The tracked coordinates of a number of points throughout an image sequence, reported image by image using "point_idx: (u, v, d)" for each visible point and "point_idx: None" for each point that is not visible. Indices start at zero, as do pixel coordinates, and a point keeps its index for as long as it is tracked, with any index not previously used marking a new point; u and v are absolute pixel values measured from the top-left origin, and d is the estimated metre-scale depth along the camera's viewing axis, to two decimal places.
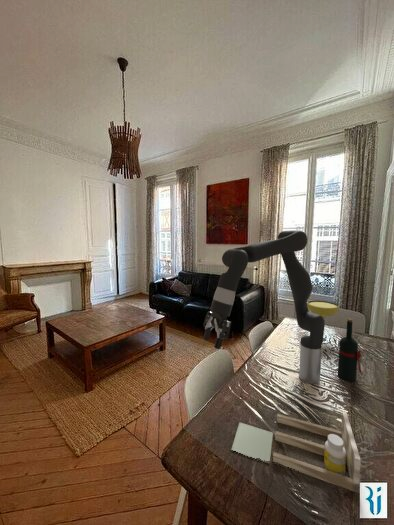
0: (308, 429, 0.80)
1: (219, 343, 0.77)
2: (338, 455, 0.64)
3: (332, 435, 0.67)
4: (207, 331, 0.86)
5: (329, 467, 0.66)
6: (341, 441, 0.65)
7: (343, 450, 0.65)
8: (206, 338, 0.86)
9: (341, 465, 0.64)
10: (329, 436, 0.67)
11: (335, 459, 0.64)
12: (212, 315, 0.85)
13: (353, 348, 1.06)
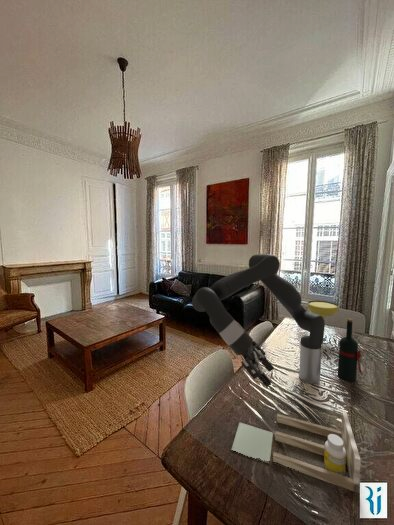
0: (308, 429, 0.80)
1: (263, 381, 0.68)
2: (338, 455, 0.64)
3: (332, 435, 0.67)
4: (263, 363, 0.76)
5: (329, 467, 0.66)
6: (341, 441, 0.65)
7: (343, 450, 0.65)
8: (270, 369, 0.76)
9: (341, 465, 0.64)
10: (329, 436, 0.67)
11: (335, 459, 0.64)
12: None
13: (353, 348, 1.06)
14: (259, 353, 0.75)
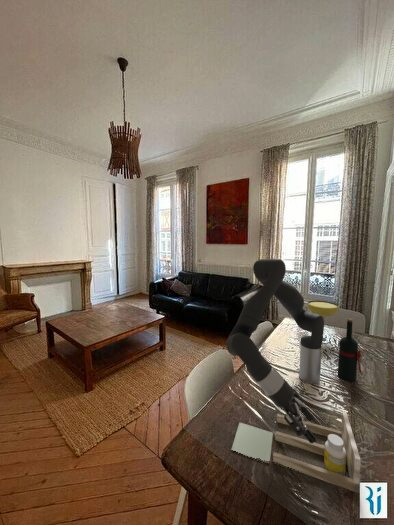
0: None
1: (307, 438, 0.64)
2: (338, 455, 0.64)
3: (332, 435, 0.67)
4: (303, 412, 0.73)
5: (329, 467, 0.66)
6: (341, 441, 0.65)
7: (343, 450, 0.65)
8: (310, 419, 0.72)
9: (341, 465, 0.64)
10: (329, 436, 0.67)
11: (335, 459, 0.64)
12: None
13: (353, 348, 1.06)
14: (299, 403, 0.71)
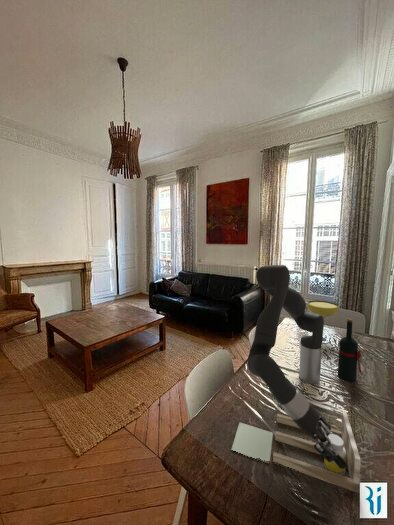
0: None
1: (338, 463, 0.63)
2: None
3: (332, 435, 0.67)
4: None
5: (329, 467, 0.66)
6: (341, 441, 0.65)
7: (343, 450, 0.65)
8: None
9: None
10: (329, 436, 0.67)
11: None
12: None
13: (353, 348, 1.06)
14: (325, 428, 0.68)
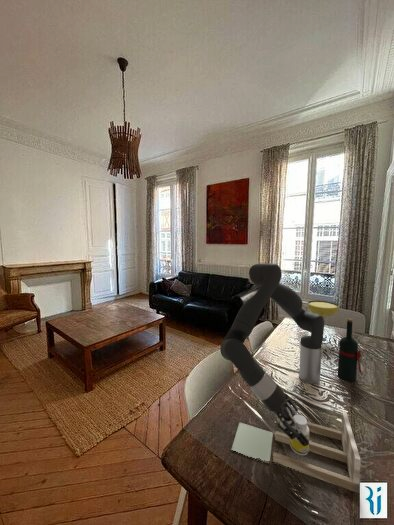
0: None
1: (300, 441, 0.66)
2: None
3: (297, 415, 0.71)
4: None
5: (293, 445, 0.69)
6: (305, 421, 0.69)
7: (307, 429, 0.68)
8: None
9: None
10: (294, 416, 0.71)
11: None
12: None
13: (353, 348, 1.06)
14: (291, 409, 0.72)
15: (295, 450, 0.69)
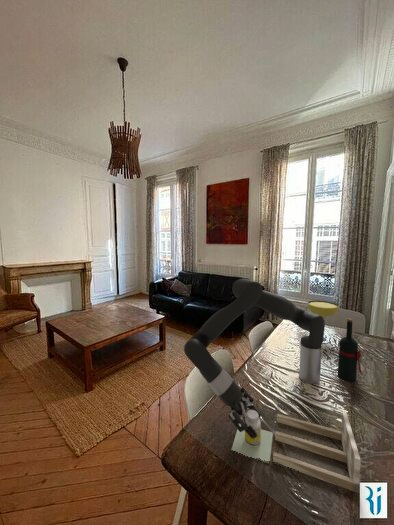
0: (308, 429, 0.80)
1: (249, 433, 0.71)
2: (252, 426, 0.73)
3: (251, 410, 0.77)
4: None
5: (246, 438, 0.75)
6: (257, 415, 0.75)
7: (258, 423, 0.74)
8: None
9: None
10: (248, 411, 0.77)
11: None
12: None
13: (353, 348, 1.06)
14: (246, 402, 0.78)
15: (248, 442, 0.75)
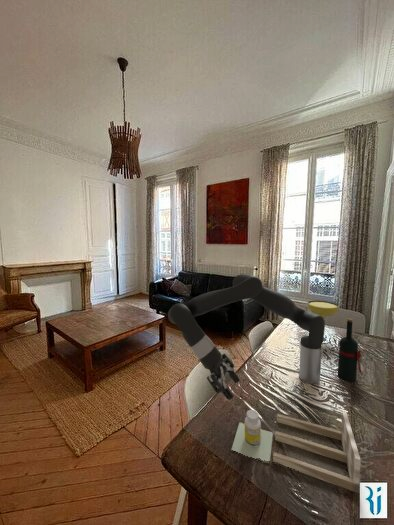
0: (308, 429, 0.80)
1: (225, 395, 0.74)
2: (252, 426, 0.73)
3: (251, 410, 0.77)
4: (230, 375, 0.82)
5: (246, 438, 0.75)
6: (257, 415, 0.75)
7: (258, 423, 0.74)
8: (236, 381, 0.82)
9: (255, 435, 0.74)
10: (248, 411, 0.77)
11: (250, 430, 0.74)
12: None
13: (353, 348, 1.06)
14: (226, 367, 0.80)
15: (248, 442, 0.75)
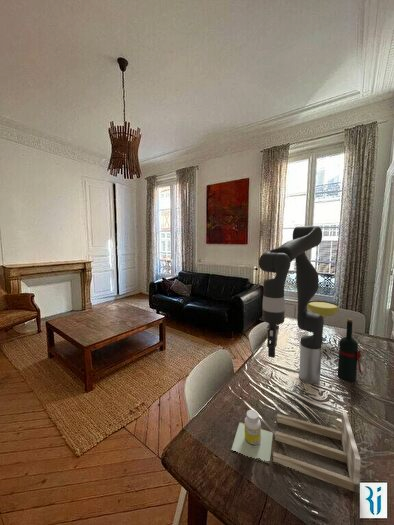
0: (308, 429, 0.80)
1: (270, 352, 0.77)
2: (252, 426, 0.73)
3: (251, 410, 0.77)
4: None
5: (246, 438, 0.75)
6: (257, 415, 0.75)
7: (258, 423, 0.74)
8: None
9: (255, 435, 0.74)
10: (248, 411, 0.77)
11: (250, 430, 0.74)
12: None
13: (353, 348, 1.06)
14: None
15: (248, 442, 0.75)
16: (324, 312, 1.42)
